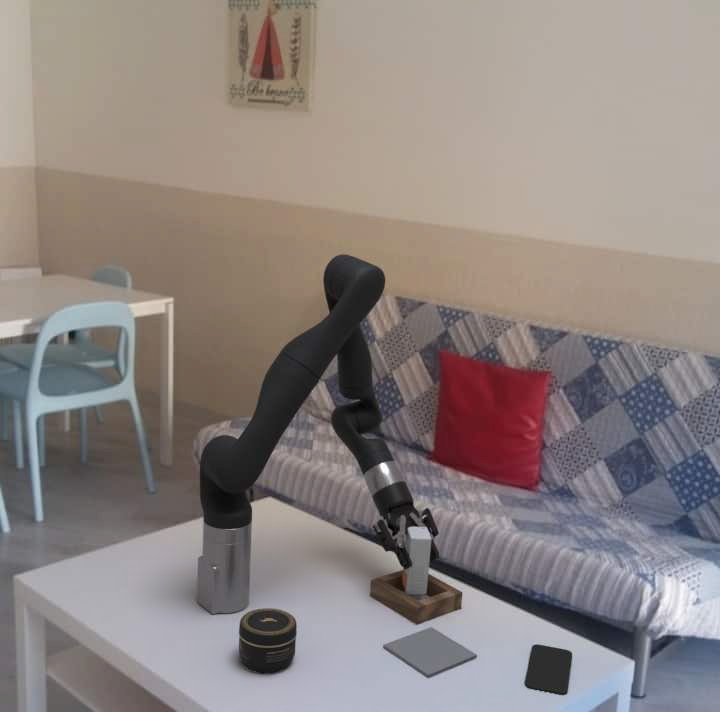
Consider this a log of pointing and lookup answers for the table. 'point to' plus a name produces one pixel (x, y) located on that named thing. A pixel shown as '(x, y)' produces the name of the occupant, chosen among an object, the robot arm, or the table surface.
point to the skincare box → (417, 560)
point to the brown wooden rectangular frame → (416, 611)
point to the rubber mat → (429, 652)
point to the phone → (549, 669)
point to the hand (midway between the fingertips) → (422, 563)
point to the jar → (267, 640)
